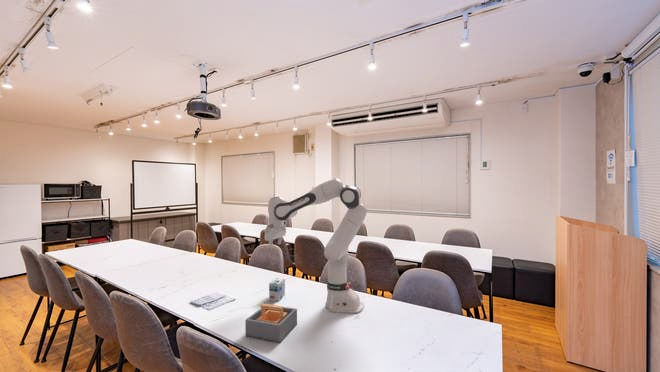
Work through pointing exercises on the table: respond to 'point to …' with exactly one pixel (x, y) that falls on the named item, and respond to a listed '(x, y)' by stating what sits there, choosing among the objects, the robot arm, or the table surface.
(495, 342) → the table surface
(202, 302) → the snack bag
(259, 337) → the box
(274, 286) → the light bulb box
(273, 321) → the small crate
